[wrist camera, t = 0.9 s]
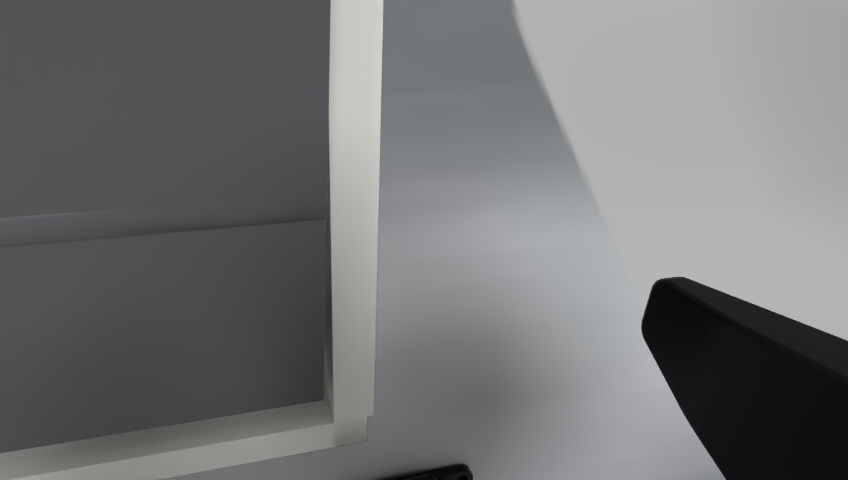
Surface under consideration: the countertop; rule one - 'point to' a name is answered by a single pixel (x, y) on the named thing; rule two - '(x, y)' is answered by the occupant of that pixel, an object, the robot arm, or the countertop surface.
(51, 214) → the panel
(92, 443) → the breaker box
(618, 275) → the countertop surface
